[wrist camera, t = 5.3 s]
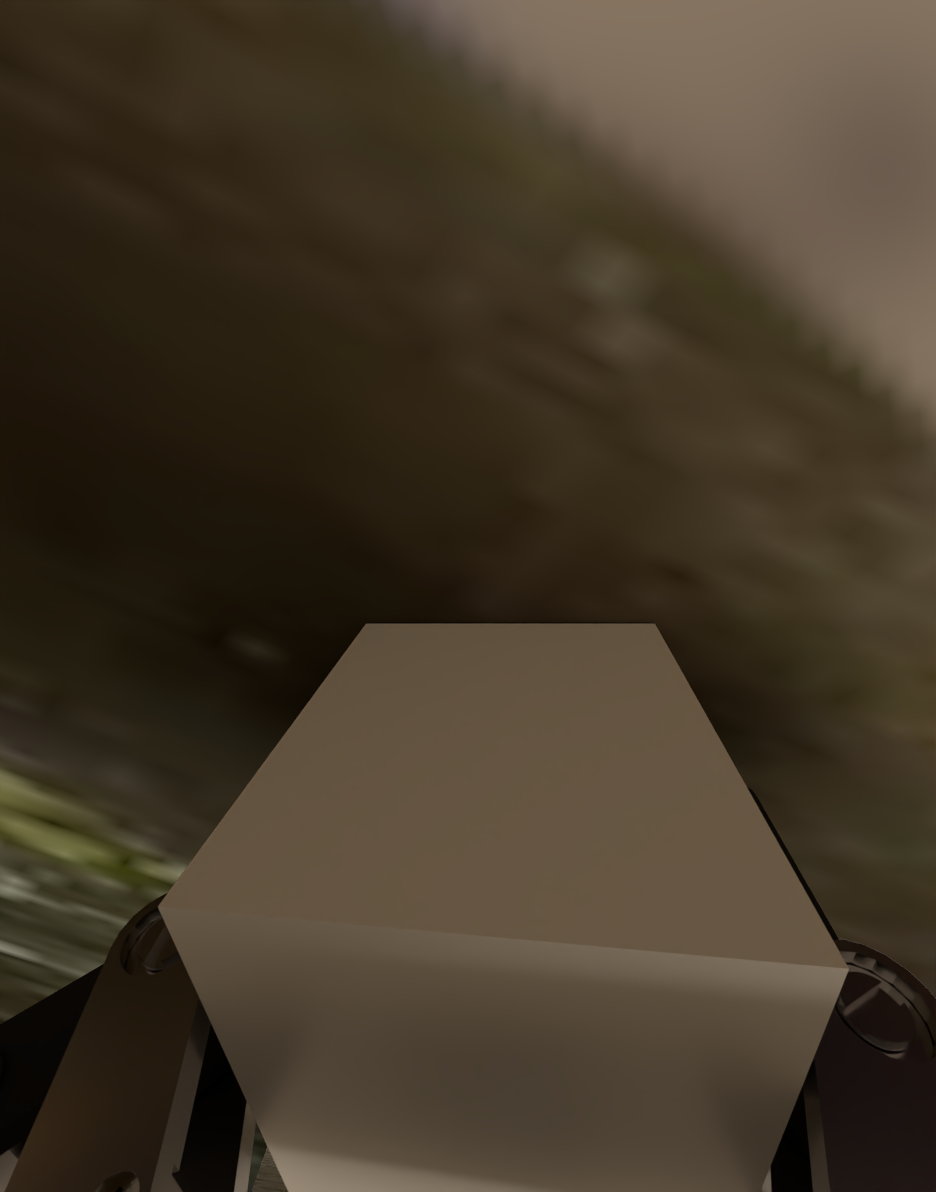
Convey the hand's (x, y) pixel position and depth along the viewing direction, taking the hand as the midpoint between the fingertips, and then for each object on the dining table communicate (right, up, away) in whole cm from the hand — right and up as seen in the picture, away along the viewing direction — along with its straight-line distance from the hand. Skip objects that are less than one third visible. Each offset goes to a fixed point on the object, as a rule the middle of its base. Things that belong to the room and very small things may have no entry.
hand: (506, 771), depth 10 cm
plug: (+1, -7, +4) cm, 8 cm away
